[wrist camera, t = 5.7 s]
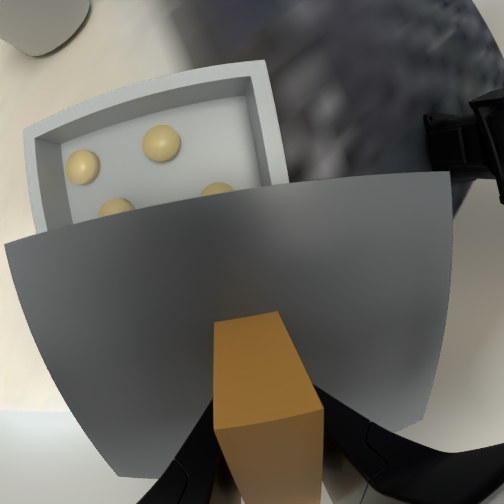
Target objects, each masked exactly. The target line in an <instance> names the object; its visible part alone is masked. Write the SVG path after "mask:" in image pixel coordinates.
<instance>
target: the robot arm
mask: <svg viewBox="0 0 504 504" xmlns="http://www.w3.org/2000/svg"><path fill="white" fill-rule="evenodd" d="M469 105H470V107H471V109H473V112H474V114H469V115H463V116H454V115H445V114H435V113H428V114H425V116H424V119H425V123H426V128H427V134H428V139H429V145H430V151H431V157H432V164H433V171H450V180H451V183H455V182H465V181H475V180H476V179H496V182H497V186H498V190H499V194H500V196H499V199H500V203H501V204H503V205H504V88H503V89H499V90H495V91H491V92H489V93H487V94H485V95H482V96H480V97H478V98H476V99H474V100H472V101H470V102H469ZM429 118H430V119H429ZM312 385H313V387H314V389H315V391H316V393H317V395H318V397H319V399H320V401H321V404H322V406H323V408H324V438H323V466H322V481H323V483H324V485H325V487H326V490H327V492H328V494H329V496H330V498H331V500H332V502H333V504H504V443H502V444H497V445H494V446H489V447H485V448H480V449H475V450H470V451H464V452H458V453H448V452H442V451H438V450H435V449H432V448H429V447H427V446H424V445H421V444H419V443H416V442H413V441H411V440H408V439H406V438H404V437H401V436H399V435H397V434H394V433H392V432H391V431H389V430H387V429H385V428H383V427H381V426H379V425H378V424H376V423H374V422H373V421H370V420H369V419H368V418H366V417H364V416H363V415H361V414H359V413H358V412H356V411H355V410H353V409H351V408H350V407H348V406H347V405H345V404H343V403H342V402H340V401H339V400H337V399H336V398H334V397H333V396H331V395H330V394H328V393H326V392H325V391H323V390H322V389H320V388H319V387H317V386H316V385H314V384H313V383H312ZM136 504H241V494H240V492H239V490H238V487H237V485H236V483H235V481H234V478H233V476H232V474H231V472H230V469H229V467H228V464H227V462H226V460H225V457H224V455H223V452H222V450H221V447H220V445H219V442H218V440H217V437H216V434H215V432H214V416H213V398H212V400H211V401H210V403H209V404H208V406H207V408H206V409H205V411H204V412H203V414H202V416H201V417H200V419H199V420H198V422H197V423H196V425H195V427H194V428H193V430H192V431H191V433H190V434H189V436H188V437H187V439H186V440H185V442H184V444H183V445H182V447H181V448H180V450H179V451H178V453H177V454H176V456H175V457H174V460H172V461H171V463H170V464H169V466H168V467H167V469H166V470H165V472H164V473H163V474H162V476H161V477H160V478H159V479H158V481H157V482H156V483H155V484H154V485H153V486H152V488H151V489H150V490H149V491H148V492H147V493H146V494H145V495H144V496H143V497H142V498H141V499H140V501H138V502H137V503H136Z"/></svg>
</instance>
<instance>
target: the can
mask: <svg viewBox="0 0 504 504" xmlns="http://www.w3.org/2000/svg"><path fill="white" fill-rule="evenodd" d="M89 5H90V2H89V0H0V38H1V39H3V40H4V41H6V42H8V43H9V44H11V45H12V46H14V47H16V48H17V49H19V50H20V51H22V52H23V53H25V54H27V55H30V56H39V55H43V54H45V53H48V52H50V51H52V50H54V49H55V48H57V47H58V46H60V45H61V44H63V43H64V42H66V41H67V40H68V39H69V38H70V37H71V36H72V35H73V34H74V33H75V32H76V30H77V29H78V28H79V27H80V25H81V24H82V22H83V21H84V19H85V17H86V15H87V13H88V10H89Z"/></svg>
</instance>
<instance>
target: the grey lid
mask: <svg viewBox="0 0 504 504" xmlns="http://www.w3.org/2000/svg"><path fill="white" fill-rule="evenodd" d="M452 244H453V216H452V193H451V180H450V171H431V172H408V173H390V174H375V175H362V176H351V177H340V178H329V179H320V180H311V181H302V182H294V183H286V184H278V185H270V186H263V187H256V188H249V189H243V190H236V191H230V192H224V193H218V194H212V195H206V196H200V197H194V198H189V199H184V200H178V201H173V202H168V203H163V204H158V205H153V206H148V207H143V208H139V209H134V210H130V211H125V212H121V213H116V214H112V215H108V216H103V217H99V218H95V219H91V220H87V221H83V222H79V223H75V224H71V225H68V226H64V227H60V228H57V229H53V230H49V231H46V232H42V233H39V234H35V235H32V236H29V237H25V238H22V239H19V240H16V241H13V242H10V243H7V244H4V246H5V251H6V255H7V259H8V263H9V267H10V271H11V274H12V278H13V282H14V285H15V288H16V291H17V295H18V298H19V301H20V304H21V307H22V309H23V312H24V315H25V318H26V320H27V323H28V326H29V328H30V331H31V333H32V336H33V338H34V340H35V343H36V345H37V347H38V350H39V352H40V354H41V356H42V358H43V360H44V363H45V365H46V367H47V369H48V371H49V373H50V375H51V377H52V379H53V380H54V382H55V384H56V386H57V388H58V390H59V392H60V393H61V395H62V397H63V399H64V400H65V402H66V404H67V405H68V407H69V409H70V410H71V412H72V413H73V415H74V417H75V418H76V420H77V422H78V423H79V424H80V426H81V428H82V429H83V431H84V432H85V434H86V435H87V436H88V438H89V439H90V441H91V442H92V443H93V445H94V446H95V448H96V449H97V450H98V452H99V453H100V454H101V456H102V457H103V458H104V459H105V461H106V462H107V463H108V464H109V466H110V467H111V468H112V469H113V471H114V472H115V473H116V474H117V475H118V476H121V477H133V478H149V479H159V478H160V477H161V476H162V474H163V473H164V472H165V470H166V469H167V467H168V466H169V464H170V463H171V461H172V460H174V457H175V456H176V454H177V453H178V451H179V450H180V448H181V447H182V445H183V444H184V442H185V440H186V439H187V437H188V436H189V434H190V433H191V431H192V430H193V428H194V427H195V425H196V423H197V422H198V420H199V419H200V417H201V416H202V414H203V412H204V411H205V409H206V408H207V406H208V404H209V403H210V401H211V400H212V398H213V416H214V432H215V434H216V437H217V440H218V442H219V445H220V447H221V450H222V452H223V455H224V457H225V460H226V462H227V464H228V467H229V469H230V472H231V474H232V476H233V478H234V481H235V483H236V485H237V487H238V490H239V492H240V494H241V496H242V498H243V500H244V503H245V504H320V498H321V484H322V466H323V438H324V408H323V406H322V404H321V401H320V399H319V397H318V395H317V393H316V391H315V389H314V387H313V385H312V383H313V384H314V385H316V386H317V387H319V388H320V389H322V390H323V391H325V392H326V393H328V394H330V395H331V396H333V397H334V398H336V399H337V400H339V401H340V402H342V403H343V404H345V405H347V406H348V407H350V408H351V409H353V410H355V411H356V412H358V413H359V414H361V415H363V416H364V417H366V418H368V419H369V420H370V421H373V422H374V423H376V424H378V425H379V426H381V427H383V428H385V429H387V430H389V431H391V432H392V433H394V432H396V431H399V430H401V429H403V428H405V427H407V426H410V425H412V424H414V423H416V422H418V421H420V420H422V419H423V416H424V413H425V409H426V406H427V403H428V400H429V396H430V393H431V389H432V385H433V382H434V377H435V374H436V369H437V365H438V361H439V356H440V351H441V346H442V341H443V335H444V330H445V324H446V317H447V310H448V301H449V292H450V282H451V268H452Z"/></svg>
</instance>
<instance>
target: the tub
mask: <svg viewBox="0 0 504 504" xmlns="http://www.w3.org/2000/svg"><path fill="white" fill-rule="evenodd" d="M23 137H24V154H25V165H26V175H27V183H28V190H29V197H30V203H31V209H32V214H33V219H34V224H35V229H36V234H39V233H42V232H46V231H49V230H53V229H57V228H60V227H64V226H68V225H71V224H75V223H79V222H83V221H87V220H91V219H95V218H99V217H103V216H108V215H112V214H116V213H121V212H125V211H130V210H134V209H139V208H143V207H148V206H153V205H158V204H163V203H168V202H173V201H178V200H184V199H189V198H194V197H200V196H206V195H212V194H218V193H224V192H230V191H236V190H243V189H249V188H256V187H263V186H270V185H278V184H286V183H289V178H288V172H287V167H286V161H285V155H284V150H283V145H282V139H281V134H280V129H279V124H278V119H277V114H276V109H275V104H274V99H273V95H272V90H271V85H270V81H269V76H268V72H267V67H266V63H265V60H257V61H247V62H238V63H230V64H223V65H216V66H210V67H204V68H199V69H194V70H188V71H184V72H179V73H174V74H170V75H166V76H162V77H158V78H154V79H150V80H147V81H143V82H139V83H136V84H133V85H129V86H126V87H123V88H120V89H117V90H114V91H111V92H108V93H105V94H102V95H100V96H97V97H94V98H92V99H89V100H86V101H84V102H81V103H79V104H76V105H74V106H72V107H69V108H67V109H65V110H62V111H60V112H58V113H56V114H54V115H52V116H49V117H47V118H45V119H43V120H41V121H39V122H37V123H35V124H33V125H31V126H30V127H28V128H26V129H24V130H23Z"/></svg>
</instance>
